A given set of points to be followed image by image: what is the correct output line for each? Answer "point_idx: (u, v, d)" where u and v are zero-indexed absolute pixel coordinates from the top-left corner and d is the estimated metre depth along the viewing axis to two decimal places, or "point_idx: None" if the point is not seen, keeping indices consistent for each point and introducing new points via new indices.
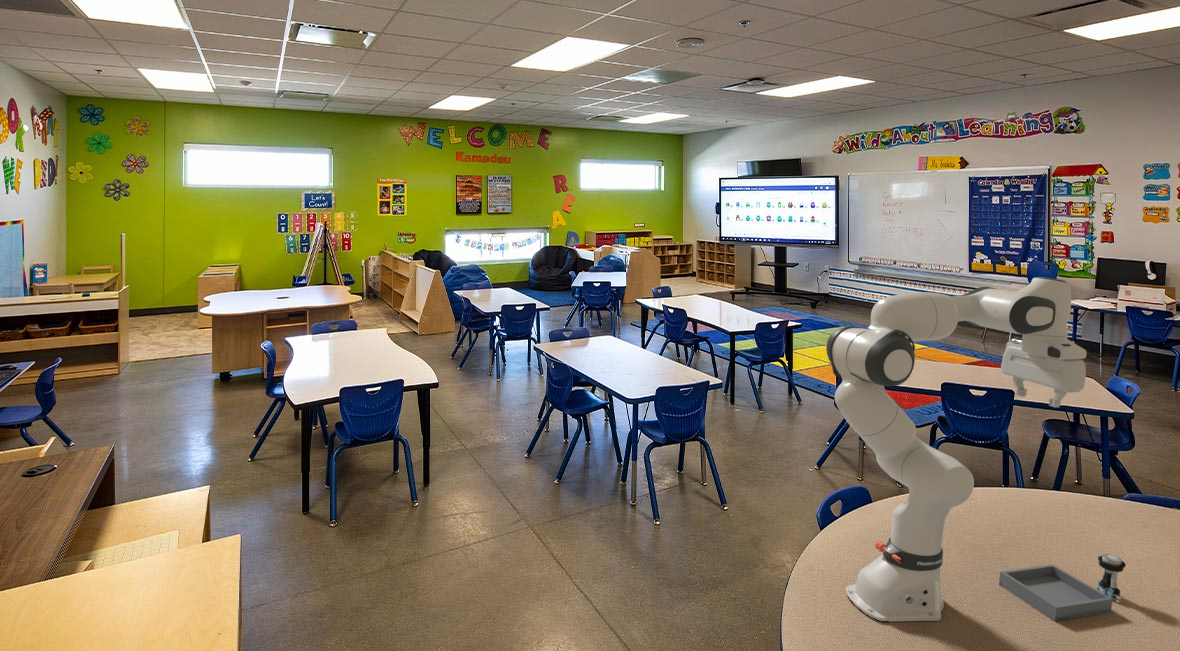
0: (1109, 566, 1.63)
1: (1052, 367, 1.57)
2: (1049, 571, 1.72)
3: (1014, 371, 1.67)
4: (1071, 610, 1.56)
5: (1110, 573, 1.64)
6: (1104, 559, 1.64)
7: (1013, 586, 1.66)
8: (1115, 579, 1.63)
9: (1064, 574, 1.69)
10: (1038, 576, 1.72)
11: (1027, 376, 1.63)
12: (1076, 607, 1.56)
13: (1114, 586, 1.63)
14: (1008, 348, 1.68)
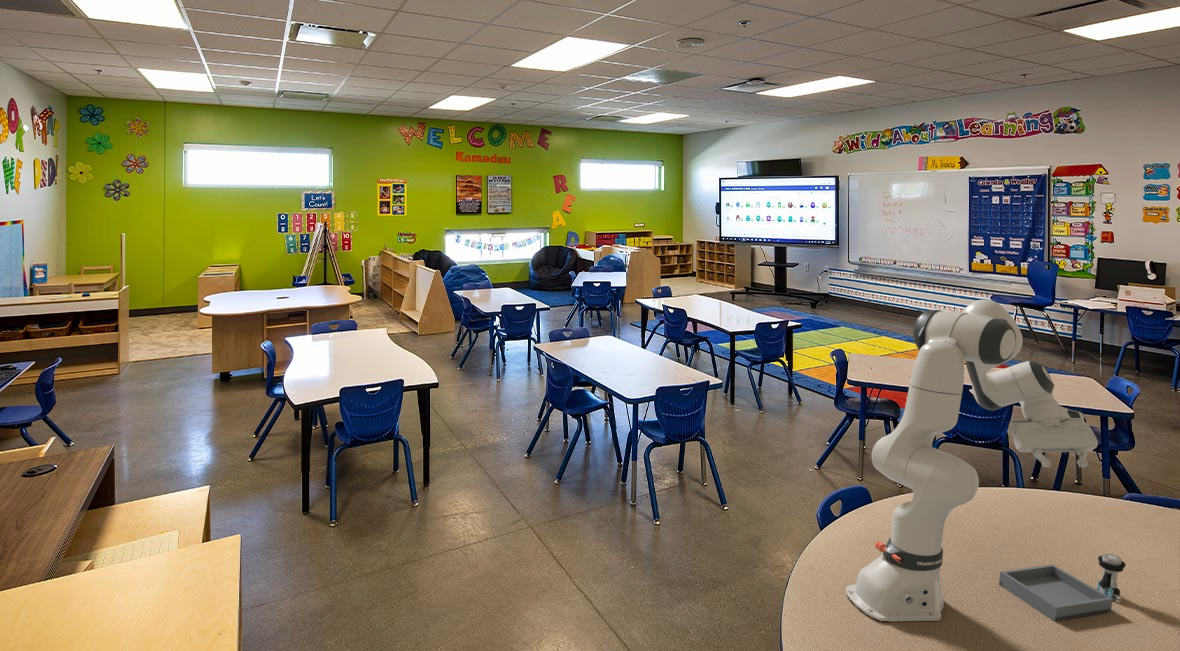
0: (1109, 566, 1.63)
1: (1070, 430, 1.79)
2: (1049, 571, 1.72)
3: (1038, 441, 1.77)
4: (1071, 610, 1.56)
5: (1110, 573, 1.64)
6: (1104, 559, 1.64)
7: (1013, 586, 1.66)
8: (1115, 579, 1.63)
9: (1064, 574, 1.69)
10: (1038, 576, 1.72)
11: (1054, 443, 1.77)
12: (1076, 607, 1.56)
13: (1114, 586, 1.63)
14: (1021, 424, 1.80)
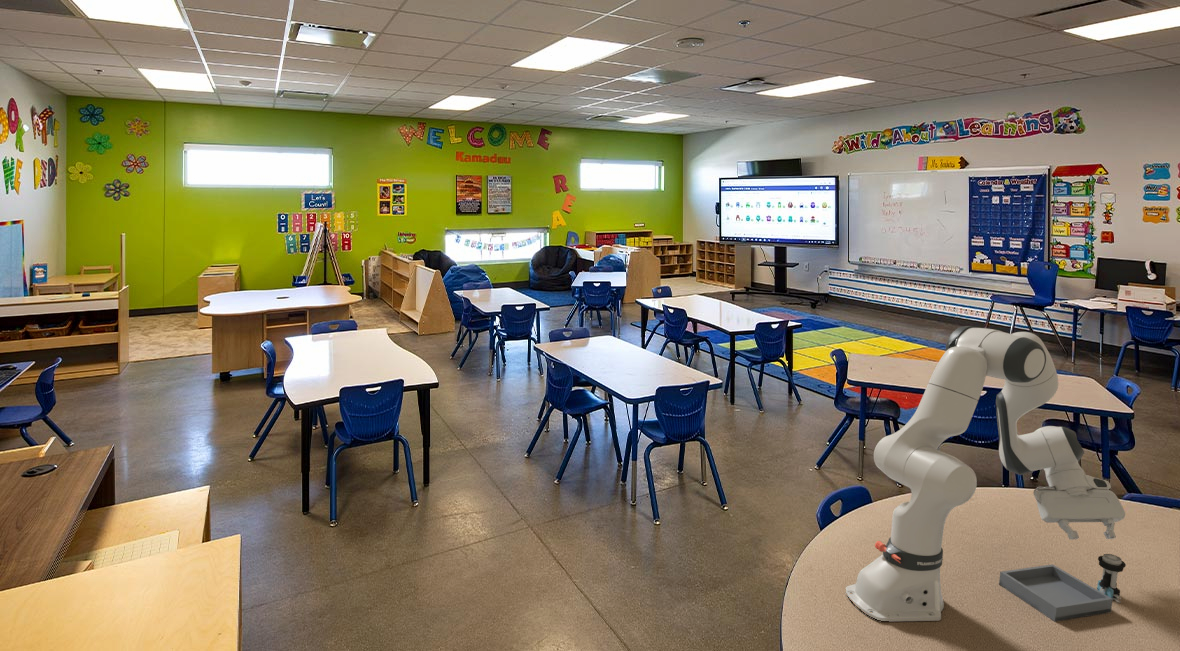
0: (1109, 566, 1.63)
1: (1097, 500, 1.74)
2: (1049, 571, 1.72)
3: (1064, 512, 1.72)
4: (1071, 610, 1.56)
5: (1110, 573, 1.64)
6: (1104, 559, 1.64)
7: (1013, 586, 1.66)
8: (1115, 579, 1.63)
9: (1064, 574, 1.69)
10: (1038, 576, 1.72)
11: (1080, 513, 1.72)
12: (1076, 607, 1.56)
13: (1114, 586, 1.63)
14: (1046, 493, 1.75)
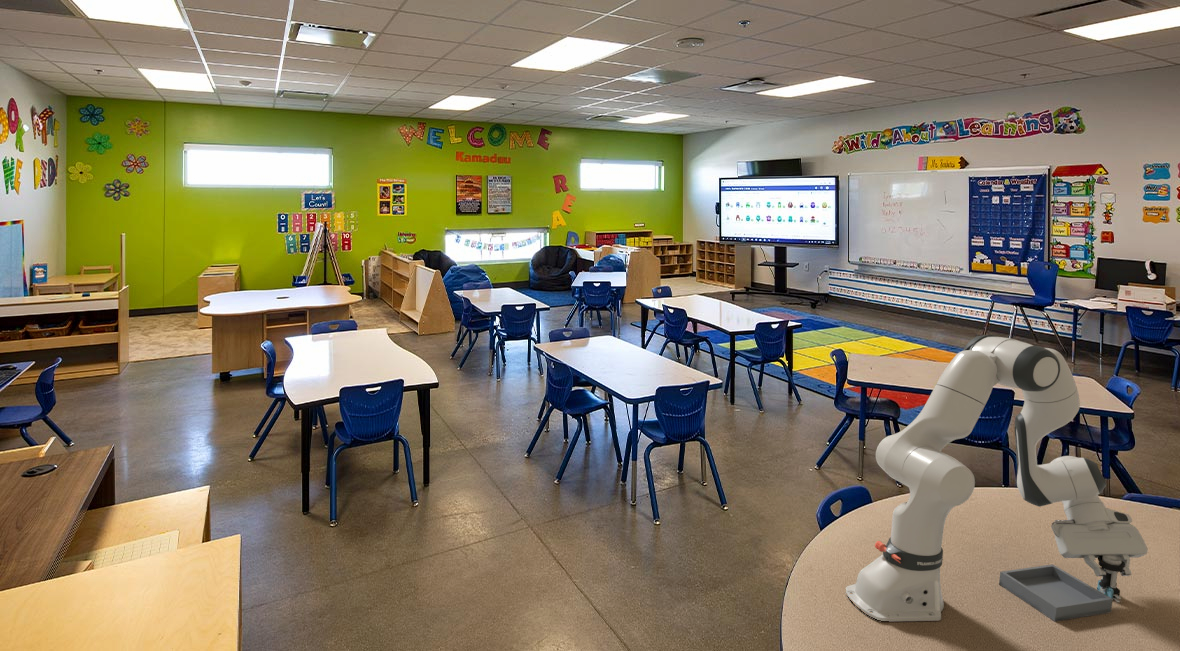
0: (1109, 566, 1.63)
1: (1117, 534, 1.68)
2: (1049, 571, 1.72)
3: (1084, 547, 1.65)
4: (1071, 610, 1.56)
5: (1110, 573, 1.64)
6: (1104, 559, 1.64)
7: (1013, 586, 1.66)
8: (1115, 579, 1.63)
9: (1064, 574, 1.69)
10: (1038, 576, 1.72)
11: (1101, 549, 1.65)
12: (1076, 607, 1.56)
13: (1114, 586, 1.63)
14: (1065, 527, 1.69)
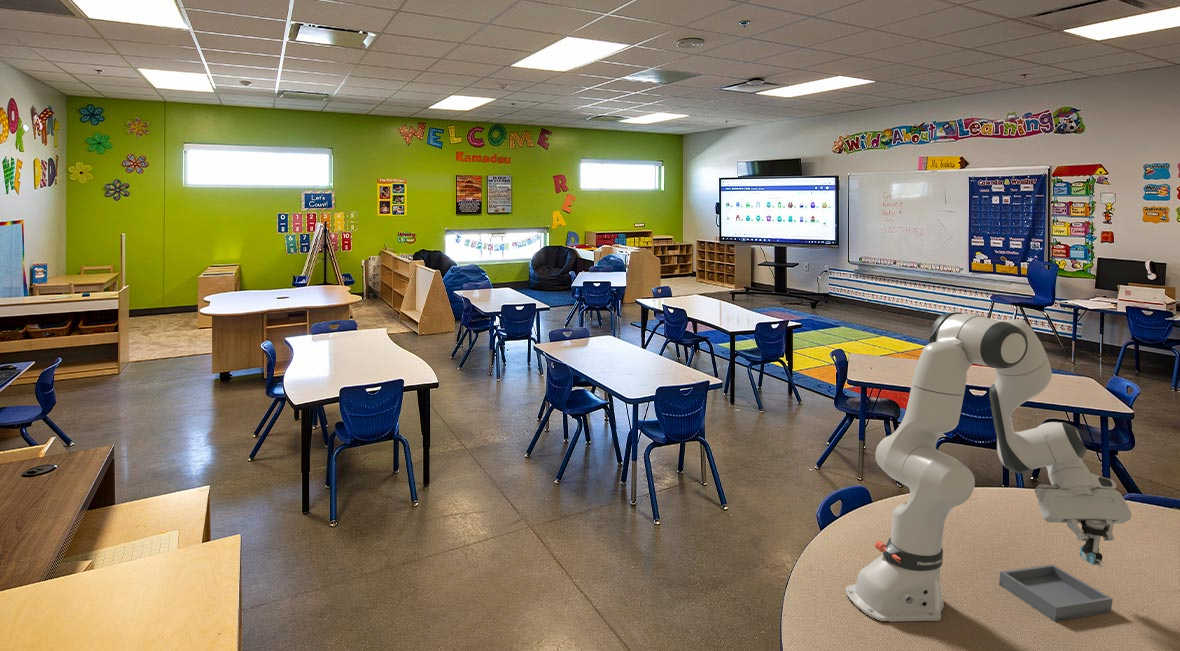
0: (1092, 530, 1.61)
1: (1101, 499, 1.66)
2: (1049, 571, 1.72)
3: (1067, 511, 1.63)
4: (1071, 610, 1.56)
5: (1093, 538, 1.62)
6: (1087, 523, 1.62)
7: (1013, 586, 1.66)
8: (1097, 544, 1.61)
9: (1064, 574, 1.69)
10: (1038, 576, 1.72)
11: (1084, 513, 1.63)
12: (1076, 607, 1.56)
13: (1096, 551, 1.61)
14: (1048, 491, 1.67)
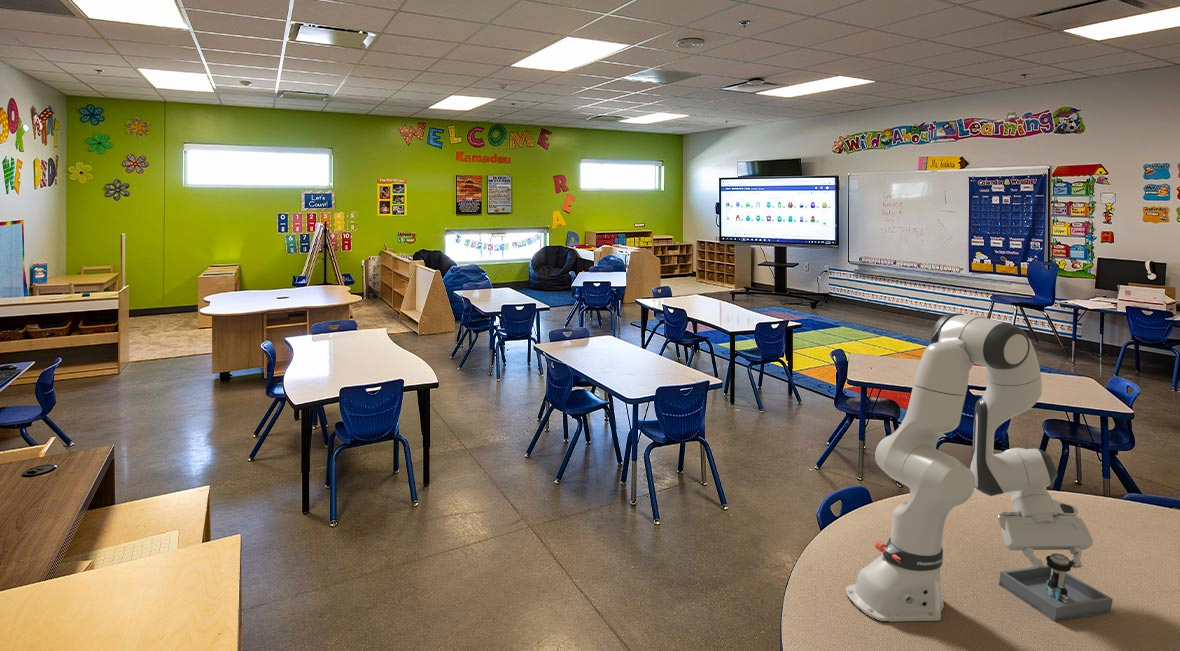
0: (1056, 566, 1.61)
1: (1063, 526, 1.67)
2: (1049, 571, 1.72)
3: (1029, 539, 1.64)
4: (1071, 610, 1.56)
5: (1058, 573, 1.62)
6: (1052, 559, 1.62)
7: (1013, 586, 1.66)
8: (1062, 579, 1.61)
9: None
10: (1038, 576, 1.72)
11: (1046, 541, 1.64)
12: (1076, 607, 1.56)
13: (1061, 586, 1.61)
14: (1011, 519, 1.68)
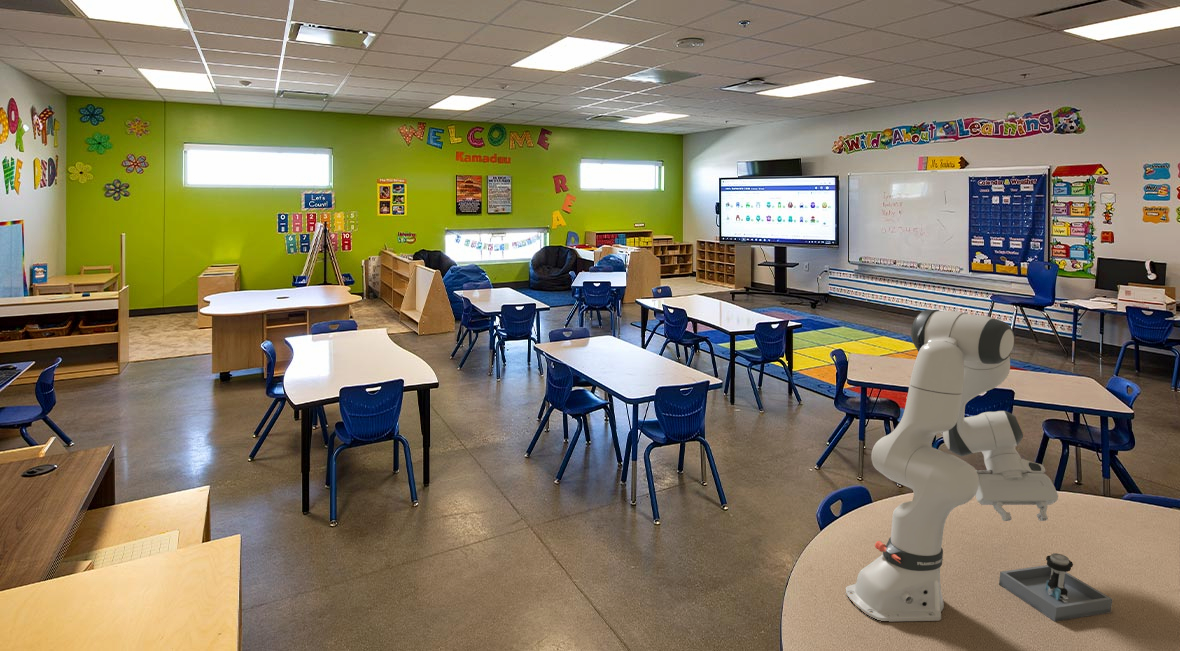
0: (1056, 566, 1.61)
1: (1031, 483, 1.79)
2: (1049, 571, 1.72)
3: (999, 494, 1.77)
4: (1071, 610, 1.56)
5: (1058, 573, 1.62)
6: (1052, 559, 1.62)
7: (1013, 586, 1.66)
8: (1062, 579, 1.61)
9: None
10: (1038, 576, 1.72)
11: (1014, 496, 1.76)
12: (1076, 607, 1.56)
13: (1061, 586, 1.61)
14: (982, 476, 1.80)
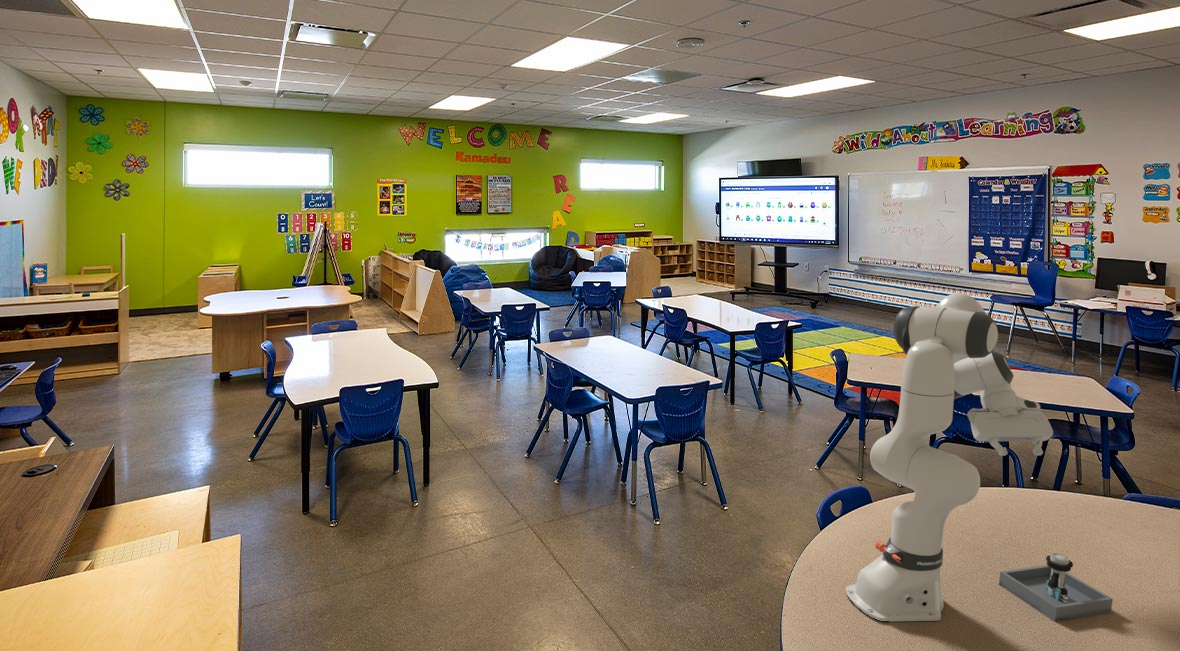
0: (1056, 566, 1.61)
1: (1026, 419, 1.83)
2: (1049, 571, 1.72)
3: (995, 430, 1.81)
4: (1071, 610, 1.56)
5: (1058, 573, 1.62)
6: (1052, 559, 1.62)
7: (1013, 586, 1.66)
8: (1062, 579, 1.61)
9: None
10: (1038, 576, 1.72)
11: (1010, 432, 1.81)
12: (1076, 607, 1.56)
13: (1061, 586, 1.61)
14: (979, 413, 1.84)
